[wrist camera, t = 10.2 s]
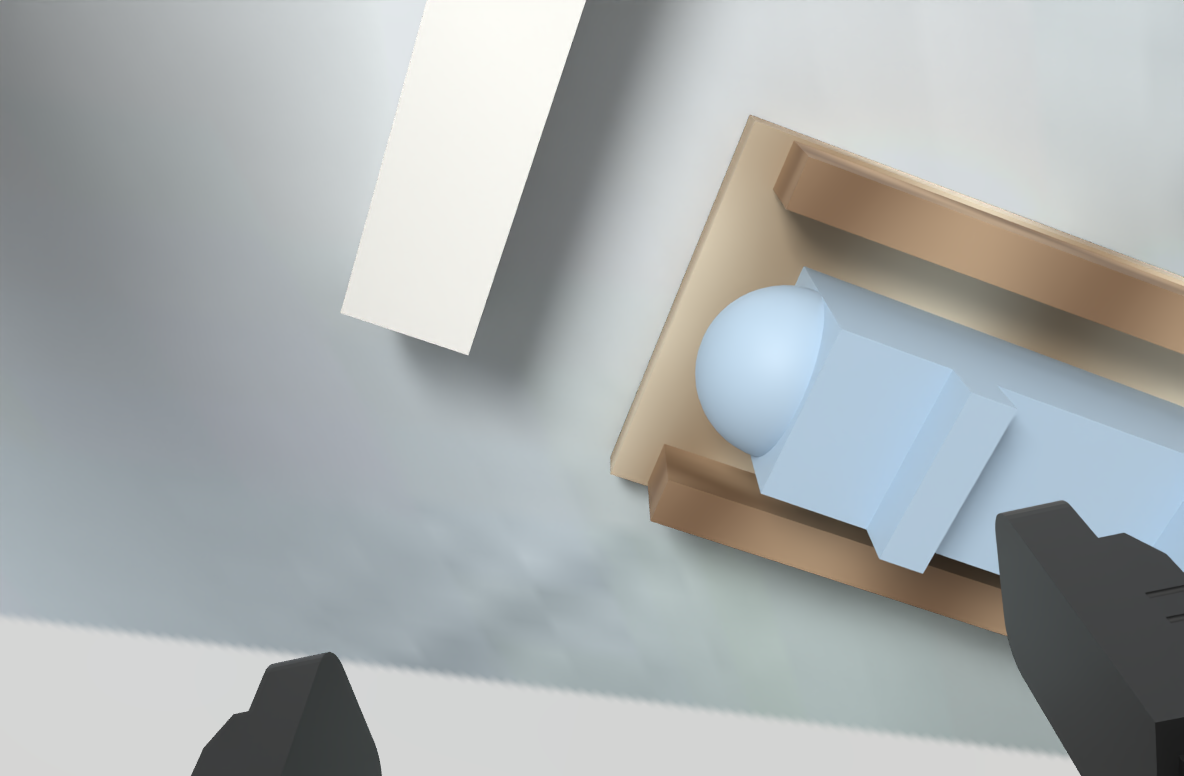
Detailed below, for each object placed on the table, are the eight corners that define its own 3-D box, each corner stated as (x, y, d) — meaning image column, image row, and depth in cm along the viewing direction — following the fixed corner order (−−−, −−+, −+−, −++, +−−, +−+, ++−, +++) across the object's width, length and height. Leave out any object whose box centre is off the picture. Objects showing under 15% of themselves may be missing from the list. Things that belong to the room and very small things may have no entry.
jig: (610, 457, 29) (610, 512, 26) (749, 114, 25) (766, 135, 22) (1134, 629, 31) (1186, 697, 28) (1332, 332, 27) (1415, 377, 24)
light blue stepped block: (664, 383, 27) (677, 491, 22) (726, 237, 25) (757, 314, 20) (1151, 553, 28) (1274, 692, 23) (1236, 426, 27) (1388, 543, 22)
